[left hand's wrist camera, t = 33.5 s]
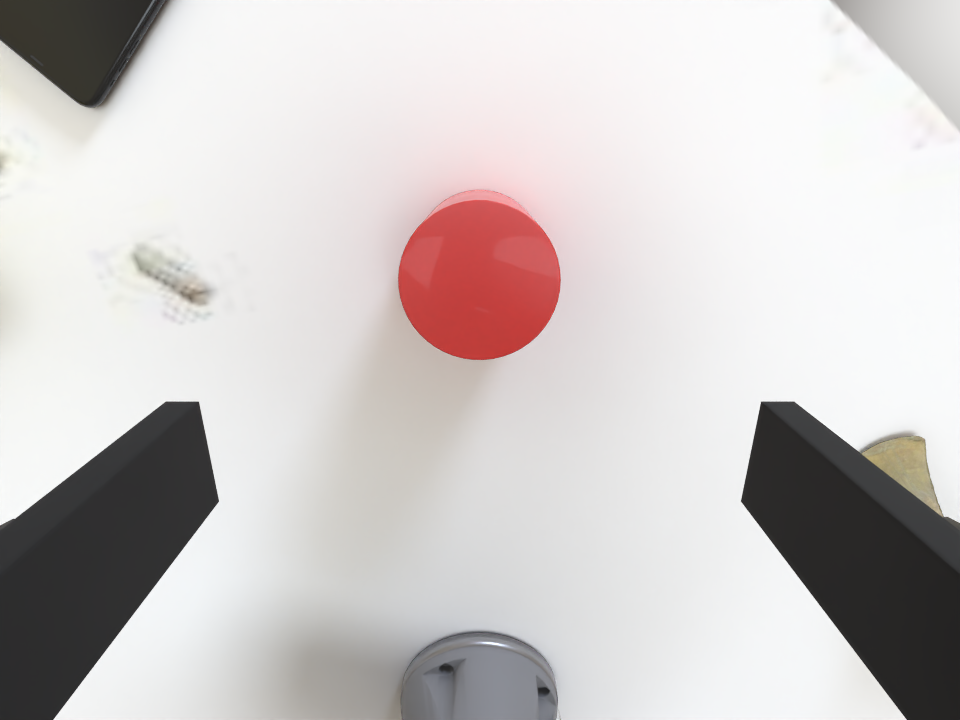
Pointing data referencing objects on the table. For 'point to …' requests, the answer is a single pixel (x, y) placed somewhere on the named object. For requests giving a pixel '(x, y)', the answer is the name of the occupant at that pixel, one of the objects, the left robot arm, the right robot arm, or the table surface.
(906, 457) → the tool
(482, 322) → the red plastic cylinder
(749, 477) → the left robot arm
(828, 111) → the table surface
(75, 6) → the smartphone
